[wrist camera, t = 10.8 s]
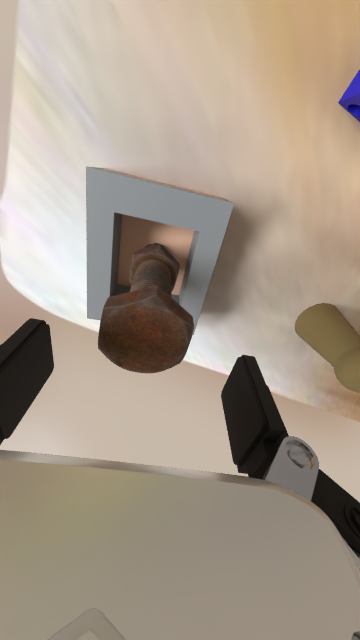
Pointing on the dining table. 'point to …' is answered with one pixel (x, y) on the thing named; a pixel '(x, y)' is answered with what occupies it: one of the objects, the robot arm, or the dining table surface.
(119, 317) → the bolt
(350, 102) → the cable clip
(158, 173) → the dining table surface
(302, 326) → the cork
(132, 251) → the socket block
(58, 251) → the dining table surface
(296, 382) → the dining table surface
